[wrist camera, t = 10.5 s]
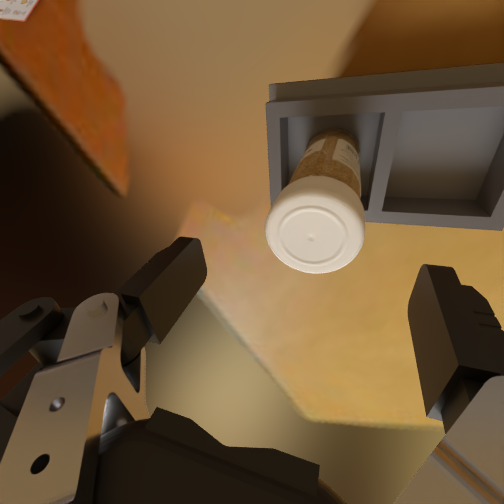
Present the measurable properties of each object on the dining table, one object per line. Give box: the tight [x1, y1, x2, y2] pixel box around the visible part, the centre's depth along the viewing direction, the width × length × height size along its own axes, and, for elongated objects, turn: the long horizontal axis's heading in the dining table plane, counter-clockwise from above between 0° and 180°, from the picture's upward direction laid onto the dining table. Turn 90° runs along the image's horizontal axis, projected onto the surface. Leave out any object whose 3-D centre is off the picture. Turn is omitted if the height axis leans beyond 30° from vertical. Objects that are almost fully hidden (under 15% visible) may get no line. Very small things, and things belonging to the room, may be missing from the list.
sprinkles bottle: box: [265, 128, 365, 273], centre depth 17 cm, size 5×5×14 cm
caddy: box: [266, 62, 504, 231], centre depth 20 cm, size 18×11×4 cm, turn 96°
